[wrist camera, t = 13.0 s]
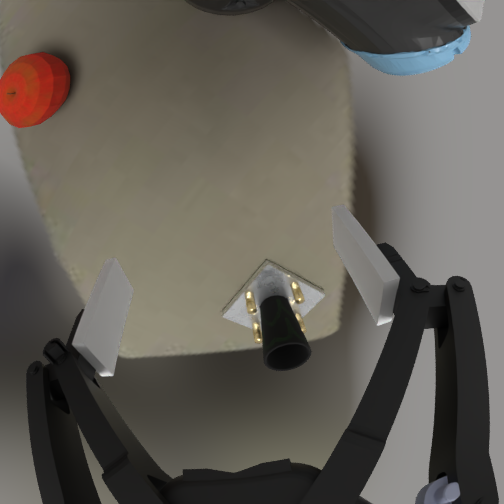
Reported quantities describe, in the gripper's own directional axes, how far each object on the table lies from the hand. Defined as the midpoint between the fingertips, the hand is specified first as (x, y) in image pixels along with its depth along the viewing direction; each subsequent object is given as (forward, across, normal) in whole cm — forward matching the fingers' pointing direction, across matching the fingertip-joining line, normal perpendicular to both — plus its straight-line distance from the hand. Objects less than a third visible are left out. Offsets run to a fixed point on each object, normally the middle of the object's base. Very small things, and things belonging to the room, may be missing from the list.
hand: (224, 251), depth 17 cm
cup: (+24, +2, -30) cm, 39 cm away
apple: (+26, -21, +17) cm, 38 cm away
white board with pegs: (+26, +2, -31) cm, 40 cm away
